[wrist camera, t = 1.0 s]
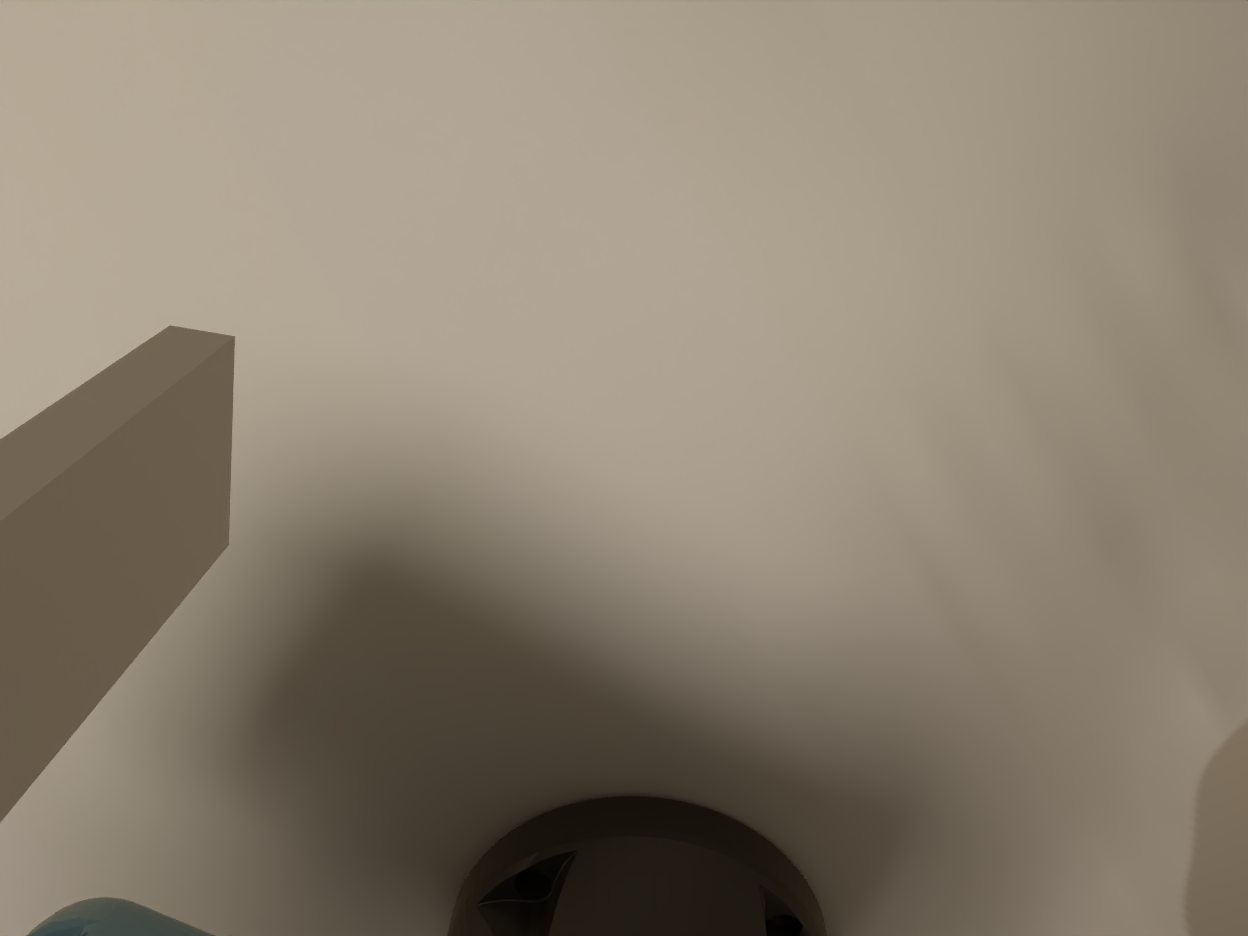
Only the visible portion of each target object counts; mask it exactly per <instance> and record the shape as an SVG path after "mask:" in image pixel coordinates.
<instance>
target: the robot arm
mask: <svg viewBox="0 0 1248 936" xmlns="http://www.w3.org/2000/svg"><path fill="white" fill-rule="evenodd" d="M234 347H235V336H229V335H223V334H217V333H212V332H206V331H200V330H194V329H188V328H182V327H176V326H169V327H167V328H166V329H164V330H163V331H161V332H160V333H158V334H157V335H155V336H154V337H152V338H151V339H149V340H148V341H146V342H145V343H143V344H142V345H140V346H139V347H137V348H136V349H134V350H133V351H131V352H130V353H128V354H127V355H125V356H124V357H122V358H121V359H119V360H118V361H116V362H115V363H113V364H112V365H110V366H109V367H108V368H106V369H105V370H103V371H102V372H100V373H99V374H97V375H96V376H94V377H93V378H91V379H90V380H88V381H87V382H85V383H84V384H82V385H81V386H79V387H78V388H76V389H75V390H73V391H72V392H70V393H69V394H67V395H66V396H64V397H63V398H61V399H60V400H58V401H57V402H55V403H54V404H52V405H51V406H49V407H48V408H47V409H45V410H44V411H42V412H41V413H39V414H38V415H36V416H35V417H33V418H32V419H30V420H29V421H27V422H26V423H24V424H23V425H21V426H20V427H18V428H17V429H15V430H14V431H12V432H11V433H9V434H8V435H6V436H5V437H3V438H2V439H0V822H1V821H2V820H3V819H4V817H5V816H6V815H7V814H8V812H9V811H10V810H11V809H12V808H13V806H14V805H15V804H16V803H17V802H18V800H19V799H20V798H21V797H22V795H23V794H24V793H25V792H26V791H27V789H28V788H29V787H30V786H31V784H32V783H33V782H34V781H35V780H36V778H37V777H38V776H39V775H40V774H41V772H42V771H43V770H44V769H45V767H46V766H47V765H48V764H49V763H50V761H51V760H52V759H53V758H54V757H55V755H56V754H57V753H58V752H59V750H60V749H61V748H62V747H63V746H64V744H65V743H66V742H67V741H68V739H69V738H70V737H71V736H72V735H73V733H74V732H75V731H76V730H77V729H78V727H79V726H80V725H81V724H82V722H83V721H84V720H85V719H86V718H87V716H88V715H89V714H90V713H91V712H92V710H93V709H94V708H95V707H96V705H97V704H98V703H99V702H100V701H101V699H102V698H103V697H104V696H105V695H106V693H107V692H108V691H109V690H110V688H111V687H112V686H113V685H114V684H115V682H116V681H117V680H118V679H119V677H120V676H121V675H122V674H123V673H124V671H125V670H126V669H127V668H128V667H129V665H130V664H131V663H132V662H133V660H134V659H135V658H136V657H137V656H138V654H139V653H140V652H141V651H142V650H143V648H144V647H145V646H146V645H147V643H148V642H149V641H150V640H151V639H152V637H153V636H154V635H155V634H156V632H157V631H158V630H159V629H160V628H161V626H162V625H163V624H164V623H165V622H166V620H167V619H168V618H169V617H170V615H171V614H172V613H173V612H174V611H175V609H176V608H177V607H178V606H179V605H180V603H181V602H182V601H183V600H184V598H185V597H186V596H187V595H188V594H189V592H190V591H191V590H192V589H193V587H194V586H195V585H196V584H197V583H198V581H199V580H200V579H201V578H202V577H203V575H204V574H205V573H206V572H207V570H208V569H209V568H210V567H211V566H212V564H213V563H214V562H215V561H216V560H217V558H218V557H219V556H220V555H221V553H222V552H223V551H224V550H225V549H226V547H227V546H228V545H229V516H230V482H231V448H232V415H233V381H234ZM27 936H215V935H212V934H210V933H207V932H205V931H202V930H200V929H198V928H195V927H193V926H190V925H188V924H185V923H183V922H180V921H178V920H176V919H173V918H171V917H168V916H166V915H163V914H161V913H159V912H156V911H154V910H151V909H149V908H146V907H144V906H142V905H139V904H137V903H134V902H131V901H128V900H124V899H119V898H108V897H105V898H93V899H87V900H84V901H80V902H77V903H74V904H72V905H70V906H67V907H65V908H63V909H61V910H59V911H58V912H56V913H55V914H53V915H52V916H50V917H49V918H47V919H46V920H45V921H43V922H42V923H40V924H39V925H38V926H37V927H36V928H34V929H33V930H32V931H31V932H30V933H29V934H28V935H27ZM447 936H827V934H826V928H825V924H824V919H823V916H822V913H821V910H820V907H819V905H818V903H817V900H816V898H815V896H814V894H813V892H812V890H811V889H810V887H809V885H808V884H807V882H806V881H805V879H804V878H803V876H802V875H801V874H800V872H799V871H798V870H797V868H796V867H795V866H794V865H793V864H792V863H791V862H790V860H789V859H788V858H787V857H786V856H785V855H784V854H783V853H781V852H780V851H779V850H778V849H777V848H776V847H775V846H774V845H772V844H771V843H770V842H769V841H767V840H766V839H765V838H763V837H762V836H760V835H759V834H757V833H756V832H755V831H753V830H751V829H749V828H748V827H746V826H744V825H743V824H741V823H739V822H737V821H735V820H733V819H731V818H729V817H726V816H724V815H722V814H719V813H717V812H714V811H711V810H708V809H706V808H703V807H699V806H695V805H692V804H688V803H684V802H679V801H674V800H667V799H661V798H650V797H612V798H602V799H595V800H589V801H584V802H580V803H575V804H571V805H568V806H565V807H561V808H558V809H555V810H553V811H550V812H548V813H545V814H543V815H540V816H538V817H536V818H534V819H532V820H530V821H528V822H526V823H525V824H523V825H521V826H519V827H518V828H516V829H515V830H513V831H512V832H510V833H509V834H507V835H506V836H505V837H504V838H502V839H501V840H500V841H498V842H497V843H496V844H495V845H494V846H493V847H492V848H491V849H490V850H489V851H488V852H487V853H486V854H485V855H484V856H483V857H482V858H481V859H480V861H479V862H478V863H477V864H476V866H475V867H474V868H473V870H472V871H471V873H470V874H469V876H468V877H467V879H466V881H465V883H464V885H463V887H462V889H461V891H460V893H459V896H458V898H457V901H456V904H455V907H454V911H453V915H452V919H451V923H450V927H449V931H448V935H447Z"/></svg>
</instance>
